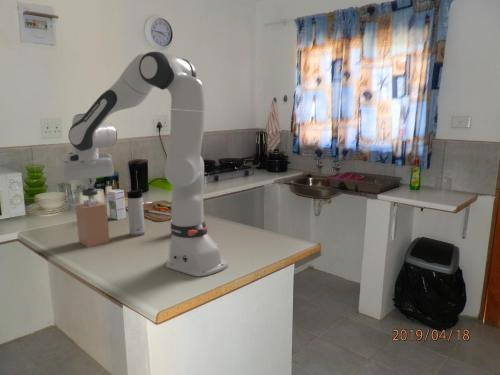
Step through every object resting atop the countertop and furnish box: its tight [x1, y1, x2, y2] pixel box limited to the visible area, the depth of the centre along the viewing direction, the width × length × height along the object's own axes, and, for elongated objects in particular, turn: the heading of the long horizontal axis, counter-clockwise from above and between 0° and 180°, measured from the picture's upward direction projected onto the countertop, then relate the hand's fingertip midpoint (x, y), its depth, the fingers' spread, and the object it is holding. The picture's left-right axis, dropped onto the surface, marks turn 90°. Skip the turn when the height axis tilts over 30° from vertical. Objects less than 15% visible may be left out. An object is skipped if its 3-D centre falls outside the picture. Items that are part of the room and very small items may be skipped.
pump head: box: [81, 187, 98, 202], centre depth 157 cm, size 9×6×12 cm, turn 44°
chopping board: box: [125, 200, 172, 223], centre depth 210 cm, size 45×27×3 cm, turn 44°
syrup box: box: [107, 188, 127, 221], centre depth 195 cm, size 6×6×14 cm
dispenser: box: [75, 198, 111, 248], centre depth 157 cm, size 9×9×18 cm
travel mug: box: [126, 189, 146, 237], centre depth 167 cm, size 6×7×20 cm
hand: (89, 189), depth 155 cm, fingers closed, pressing on pump head
